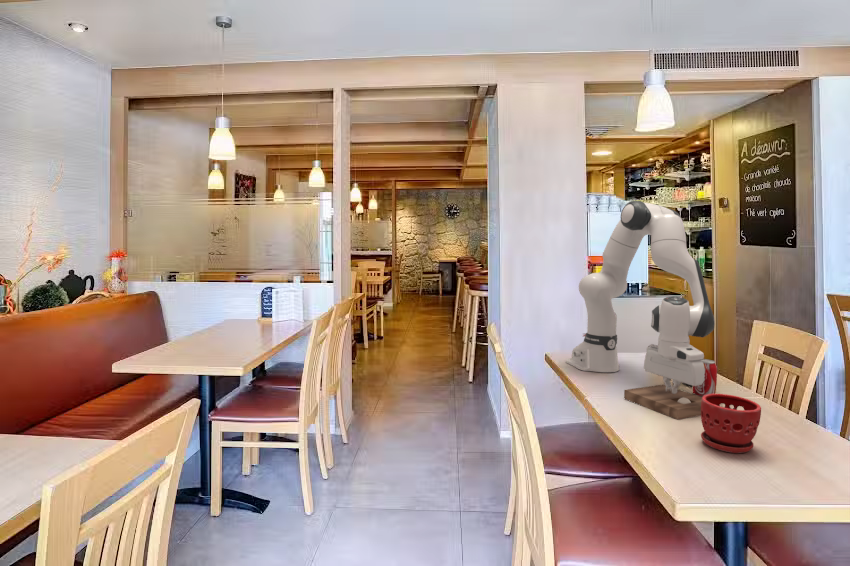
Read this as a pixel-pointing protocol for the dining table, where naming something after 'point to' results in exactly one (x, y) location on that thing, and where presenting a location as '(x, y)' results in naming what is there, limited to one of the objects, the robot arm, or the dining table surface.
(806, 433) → the dining table surface
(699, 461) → the dining table surface
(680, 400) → the ball
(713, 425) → the plant pot
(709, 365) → the soda can
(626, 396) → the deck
